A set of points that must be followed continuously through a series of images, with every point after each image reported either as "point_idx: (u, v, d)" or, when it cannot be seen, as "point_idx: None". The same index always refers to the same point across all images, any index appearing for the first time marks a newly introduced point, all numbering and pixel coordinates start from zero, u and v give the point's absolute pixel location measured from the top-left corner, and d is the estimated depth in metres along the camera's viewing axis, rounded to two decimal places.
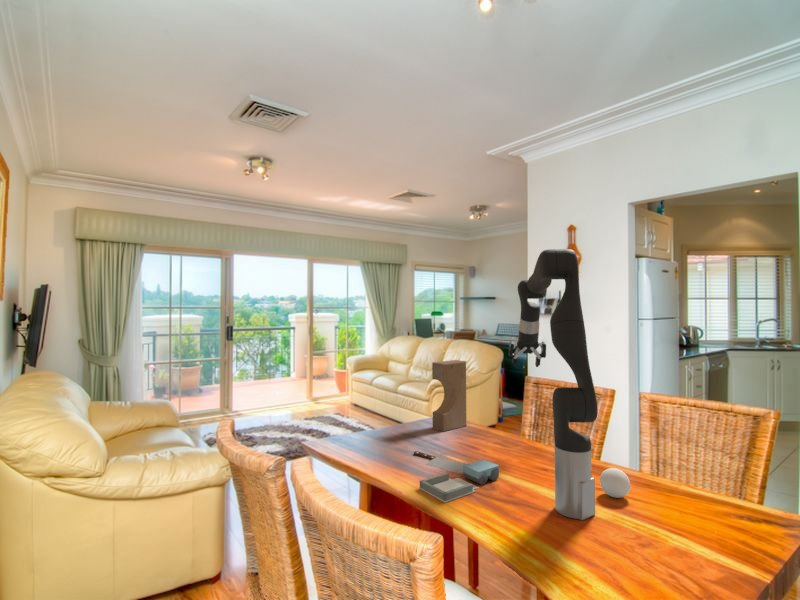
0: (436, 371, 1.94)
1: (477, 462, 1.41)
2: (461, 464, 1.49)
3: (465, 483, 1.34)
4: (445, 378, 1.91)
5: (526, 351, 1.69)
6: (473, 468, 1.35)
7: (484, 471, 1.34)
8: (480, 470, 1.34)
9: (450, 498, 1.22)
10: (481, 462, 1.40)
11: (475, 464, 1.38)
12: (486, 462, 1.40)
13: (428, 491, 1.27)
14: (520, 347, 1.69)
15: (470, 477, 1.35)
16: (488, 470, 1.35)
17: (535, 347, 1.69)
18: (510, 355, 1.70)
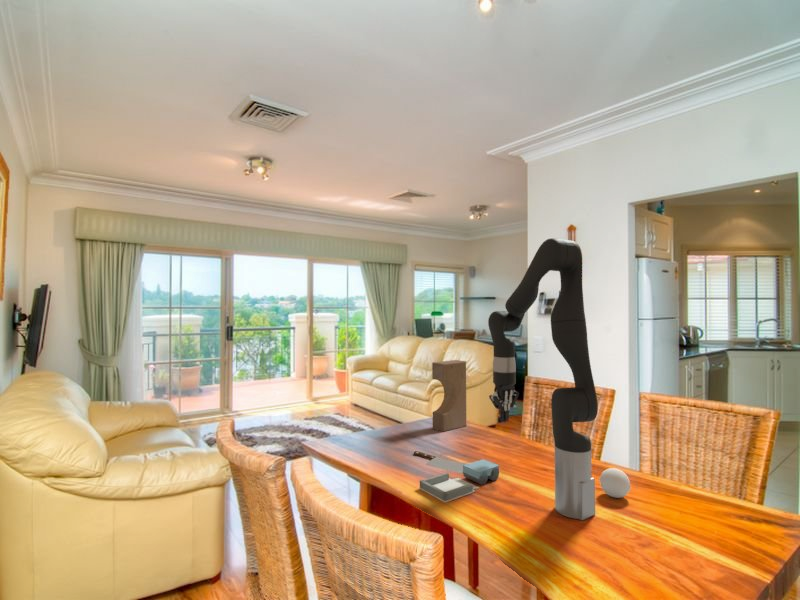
0: (436, 371, 1.94)
1: (477, 462, 1.40)
2: (461, 464, 1.49)
3: (465, 483, 1.34)
4: (445, 378, 1.91)
5: None
6: (473, 468, 1.35)
7: (484, 471, 1.34)
8: (480, 470, 1.33)
9: (450, 498, 1.22)
10: (481, 462, 1.40)
11: (475, 464, 1.38)
12: (486, 462, 1.40)
13: (428, 491, 1.27)
14: (502, 396, 1.43)
15: (470, 477, 1.35)
16: (488, 471, 1.35)
17: (511, 394, 1.45)
18: (501, 407, 1.42)
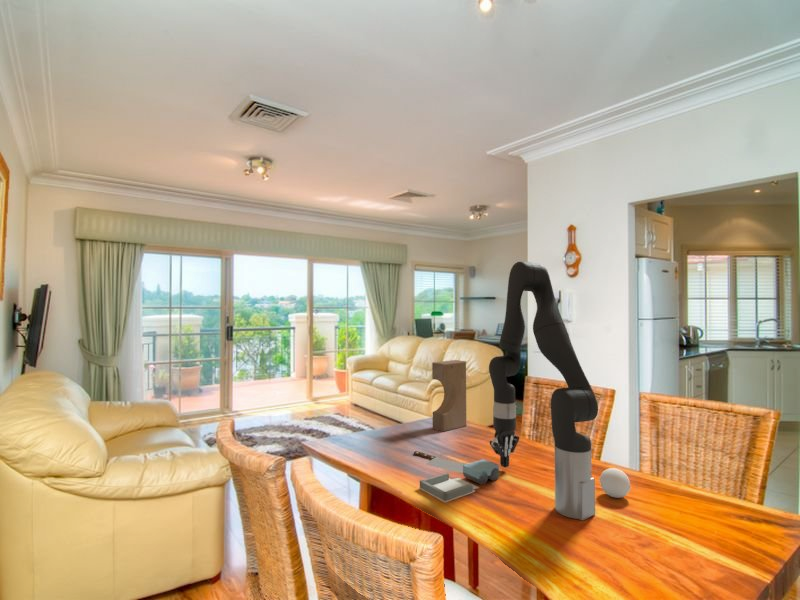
0: (436, 371, 1.94)
1: (477, 462, 1.40)
2: (461, 464, 1.49)
3: (465, 483, 1.34)
4: (445, 378, 1.91)
5: (508, 439, 1.44)
6: (473, 468, 1.35)
7: (484, 471, 1.34)
8: (480, 470, 1.33)
9: (450, 498, 1.22)
10: (481, 462, 1.40)
11: (475, 464, 1.38)
12: (486, 462, 1.40)
13: (428, 491, 1.27)
14: (502, 442, 1.42)
15: (470, 477, 1.35)
16: (488, 471, 1.35)
17: None
18: (502, 453, 1.42)
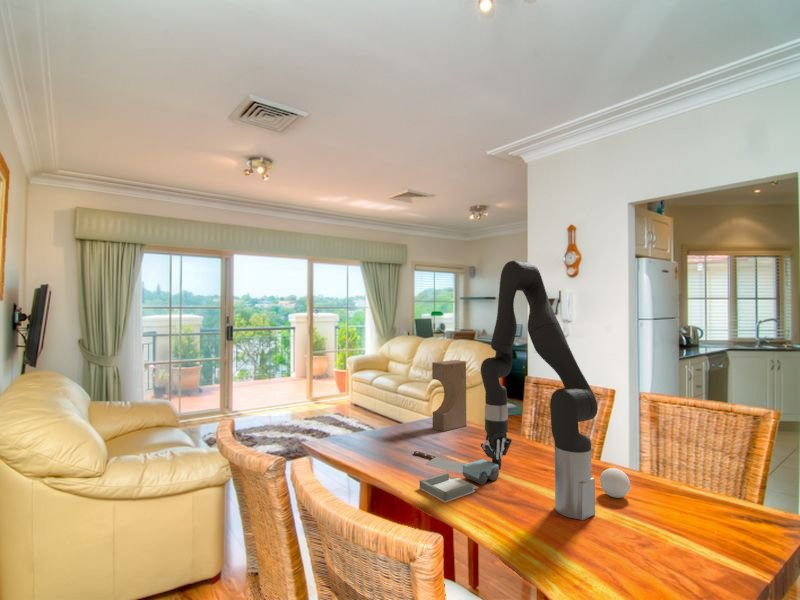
0: (436, 371, 1.94)
1: (477, 462, 1.40)
2: (461, 464, 1.49)
3: (465, 483, 1.34)
4: (445, 378, 1.91)
5: (500, 442, 1.42)
6: (472, 467, 1.35)
7: (484, 471, 1.34)
8: (480, 470, 1.33)
9: (450, 498, 1.22)
10: (481, 462, 1.40)
11: (475, 464, 1.38)
12: (486, 462, 1.40)
13: (428, 491, 1.27)
14: (493, 444, 1.40)
15: (470, 477, 1.35)
16: (488, 470, 1.35)
17: None
18: (493, 456, 1.40)
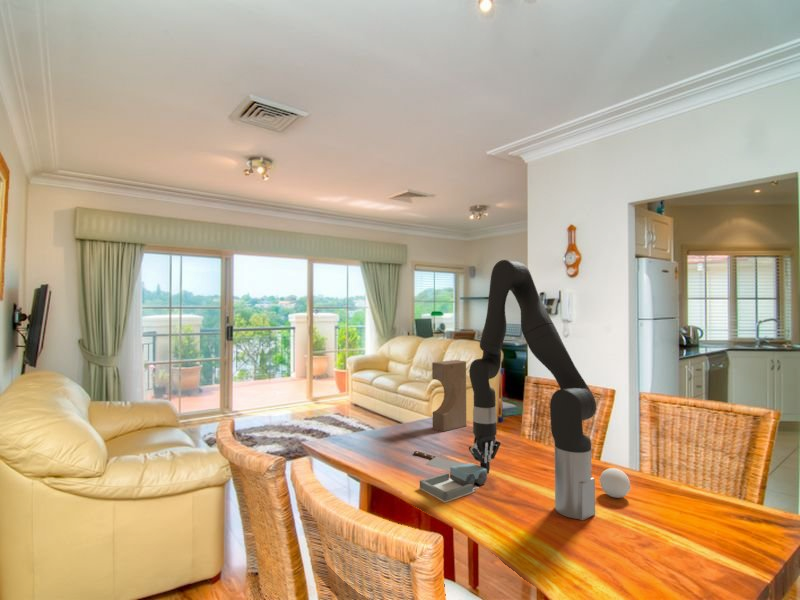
0: (436, 371, 1.94)
1: (465, 465, 1.37)
2: (461, 464, 1.49)
3: None
4: (445, 378, 1.91)
5: (488, 445, 1.39)
6: (460, 470, 1.32)
7: (471, 474, 1.31)
8: (467, 472, 1.30)
9: (450, 498, 1.22)
10: (469, 465, 1.37)
11: (463, 467, 1.35)
12: (474, 466, 1.37)
13: (428, 491, 1.27)
14: (482, 448, 1.37)
15: (457, 479, 1.32)
16: (476, 473, 1.32)
17: None
18: (481, 459, 1.36)
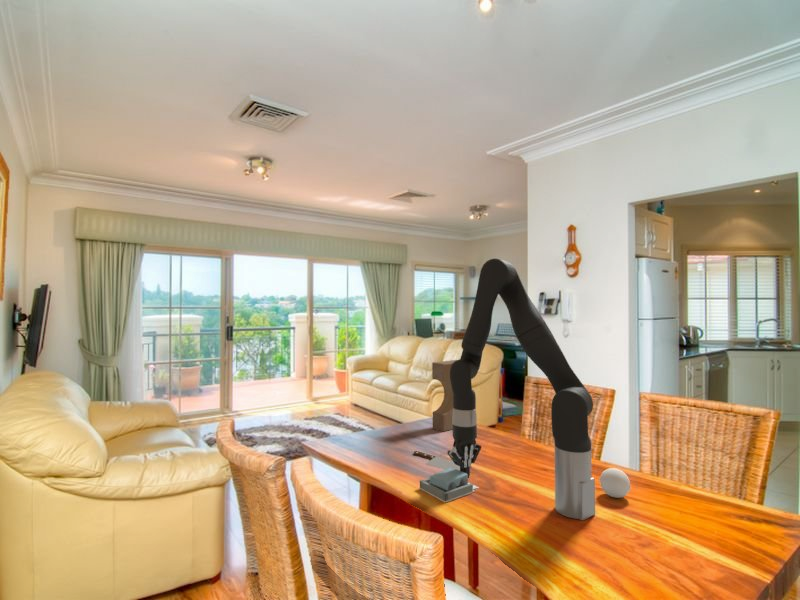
0: (436, 371, 1.94)
1: (444, 471, 1.31)
2: None
3: None
4: (445, 378, 1.91)
5: (468, 449, 1.33)
6: (441, 478, 1.26)
7: (453, 481, 1.25)
8: (448, 481, 1.24)
9: (450, 498, 1.22)
10: (449, 471, 1.31)
11: (442, 474, 1.29)
12: (454, 471, 1.32)
13: (428, 491, 1.27)
14: (461, 452, 1.32)
15: None
16: (457, 480, 1.26)
17: (472, 448, 1.34)
18: (461, 464, 1.31)
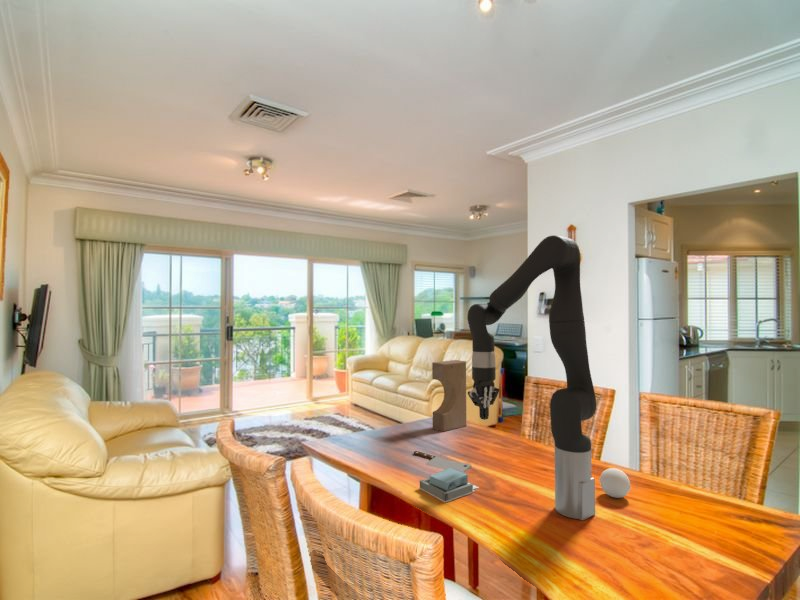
0: (436, 371, 1.94)
1: (444, 471, 1.31)
2: (461, 464, 1.49)
3: None
4: (445, 378, 1.91)
5: (487, 390, 1.38)
6: (440, 478, 1.26)
7: (452, 481, 1.25)
8: (448, 481, 1.24)
9: (450, 498, 1.22)
10: (449, 471, 1.31)
11: (442, 474, 1.29)
12: (454, 471, 1.31)
13: (428, 491, 1.27)
14: (481, 392, 1.37)
15: None
16: (457, 481, 1.26)
17: None
18: (480, 404, 1.36)
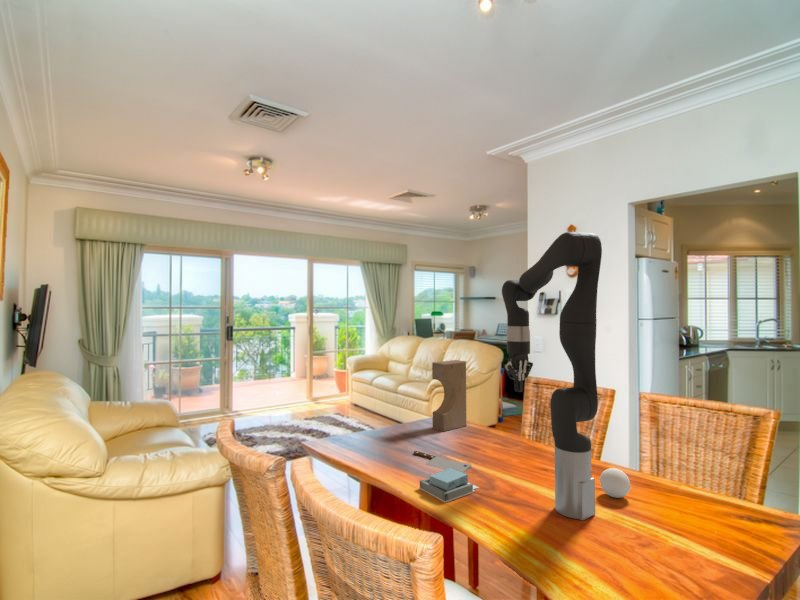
0: (436, 371, 1.94)
1: (444, 471, 1.31)
2: (460, 464, 1.49)
3: None
4: (445, 378, 1.91)
5: (522, 364, 1.43)
6: (440, 478, 1.26)
7: (452, 481, 1.25)
8: (448, 481, 1.24)
9: (450, 498, 1.22)
10: (449, 471, 1.31)
11: (442, 474, 1.29)
12: (454, 471, 1.31)
13: (428, 491, 1.27)
14: (516, 365, 1.41)
15: None
16: (457, 481, 1.26)
17: None
18: (516, 376, 1.41)
